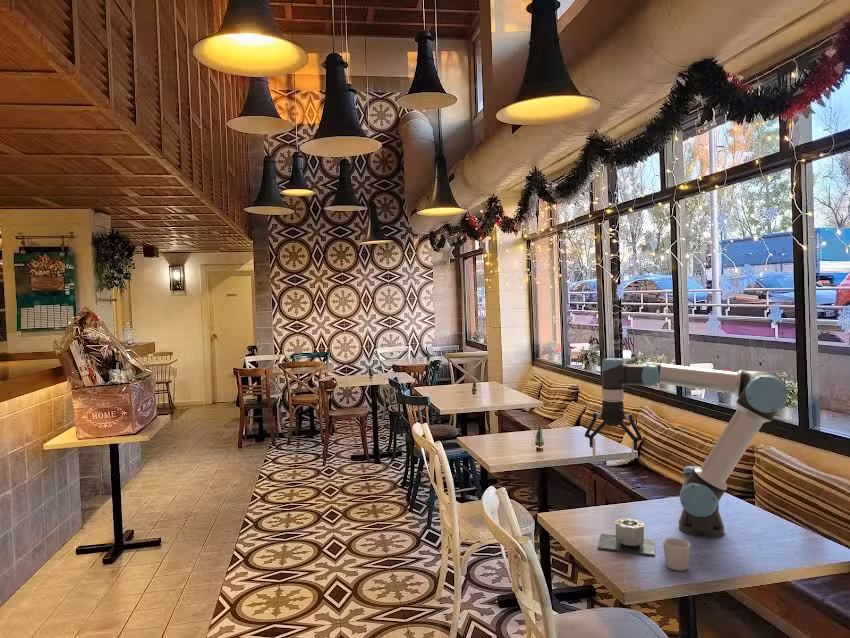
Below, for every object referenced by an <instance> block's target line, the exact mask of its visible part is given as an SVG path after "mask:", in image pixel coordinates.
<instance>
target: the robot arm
mask: <svg viewBox="0 0 850 638" xmlns="http://www.w3.org/2000/svg"><path fill="white" fill-rule="evenodd" d="M601 364H602V365H601V399H602V401H601V409H602V410H601V412H600V413H599V412H597V411H595V412H594V413H593V414H592V415H593V416H592V420H591V422H590V424H589V425H588V428H587V429H586V431H585V434H584V438H588V440H589V448H592V457H593V458H595V457H596V455H597V454H596V453H597V452H596V449H597V448H596V437H595V436H597V434H598V433H599V432H600V431H601V430H603V428H604V427H605V426H606V425H607V426H608V427H612V426H614V427H618V426H619V427H621V428H622V429H623V430H624V432H625V433H626V434H627V435H628V436H629V437H630V439H631V444H630V445H631V461H634V460H635V451H637V450H638V442H640V441H643V435H642V434H641V432H640V430H639V429H638V428H639V427H638V426H637V424H636V422H635V420H634V416H633V414H632V413H629V414H628V413H627V414H625V412H624V411H625V410H624V407H625V406H624V401H623V400H624V386H625V385H626V386H627V385H629V386H630V385H631V386H642V387H643V386H645V387H652V386H653V387H655V386H657V385H658V384H663V385H671V386H678V387H685V388H693V389H699V390H706V391H712V392H713V391H714V392H719V393H728V394H734V395H735V396H736V397H737V400H736V401H735V403H736V406H737V410H736V411H735V413H734V414H733V416H732V417H731V419H730V420H729V422H728V424H727V425H726V426H725V428H724V430H723V431H722V433H721V435H720V436H719V438H718V439H717V441H716V443H715V444H714V445H713V448H711V451H710V452H709V453H708V455H707V457H706V459H704V461H703V463H702V465H701V466H699V465H698V466H696V465H688V466H687V465H686V466H684V468H683V472H682V474H683V482H682V486H681V489H680V490H679V501H680V504H681V506H682V510H681V514H680V516H679V520H678V528H679V530H680V531H682V532H684V533H686V534H688V535H690V536H695V537H701V538H717V537H723V536H724V535H725V525H724V523H723V519H722V516H721V514H720V510H719V509H720V507H719V504H720V500H721V499H722V497H723V495H724V494H725V492H726V491H727V489H728V486H727V483H726V481H727V480H728V478H729V477H730V475H731V473H732V472H733V470H734V469H735V468H736V466H737V464H738V463H739V461H740V460H741V459H742V457H743V455H744V453H745V452H746V451H747V449H748V447H750V444H751V443H752V441H753V440H754V438H755V437H756V435H757V434H758V432H759V430H760V429H761V428H762V426H763V424H764V423H768V422H771V421H773V419H774V418H775V417H776V414H777V413H778V411H779V410H781V409H783V407H784V406H785V405H786V403H787V402H788V397H789V396H788V395H789V392H788V387H787V385H786V383H785V381H783V380H782V378H781V377H780V376H778V375H777V374H776V373H773V372H771V371H767V370H763V371H761V370H759V371H758V370H756V371H755V370H744V369H739V370H738V371H735V372H734V371H728V370H719V369H710V368H703V367H701V368H700V367H695V366H686V365H677V364H668V363H661V362H660V363H659V362H653V361H651V360H643V361H641V362H639V363H638V364H634V363H633V364H631V363H630V364H629V363H628V364H627V363H624V360H623V359H622V358H620V357H619V358H617V357H607V358H603V359H602V361H601ZM600 418H601V419H602V422H601V423H600V424H599V425H598V426H597V428H595V430H593V432H592V433H591V431H592V428H593V427H594V425H595V423H596V420H598V419H600ZM624 419H627V421H629V423H630V425H631V427H632V429H633V431H634V432H635V433H633V432H632V431H631V430H630V428H629V427H628V426H627V425H626V423H625V422H624ZM590 433H591V434H590Z"/></svg>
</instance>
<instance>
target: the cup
mask: <svg viewBox="0 0 850 638" xmlns="http://www.w3.org/2000/svg"><path fill="white" fill-rule="evenodd" d="M662 544H663V545H662V546H663V552H664V563H665V566H666V567H668V568H669V569H670V570H673V571H677V572H678V571H679V572H682V571H683V572H684V571H686V570H688V568H689V565H690V556H691V555H690V553H691V546H692V545H691V543H690V542H689V541H688V540H686V539H683V538H682V539H681V538H677V537H668V538H664V539H663V541H662Z"/></svg>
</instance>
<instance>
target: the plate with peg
mask: <svg viewBox="0 0 850 638" xmlns="http://www.w3.org/2000/svg"><path fill="white" fill-rule="evenodd" d="M625 525H630V526H634V522H630V521H626V522H625ZM655 540H656V539H651V538H644V544H642V545H637V546H631V545H623V544H621V543H619V542H617V541H616V534H609V533H600V537H599V541H598V546H597V550H598V551H607V552H616V553H622V554H629V555H639V556H646V557H652V558H653V557H654V558H655V555H656V554H655V551H656V550H655V549H656V547H655V545H656V544H655Z"/></svg>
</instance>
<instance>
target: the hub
mask: <svg viewBox="0 0 850 638" xmlns="http://www.w3.org/2000/svg"><path fill="white" fill-rule="evenodd" d="M626 521H630V522H634V526H630V525H625V522H626ZM615 535H616V541H617V542H619V543H621V544H623V545H631V546H637V545H642V544H644V539H645V522H644V521H641V520H639V519H636V518H628V517H627V518H626V517H622V518H619V519H615Z"/></svg>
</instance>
